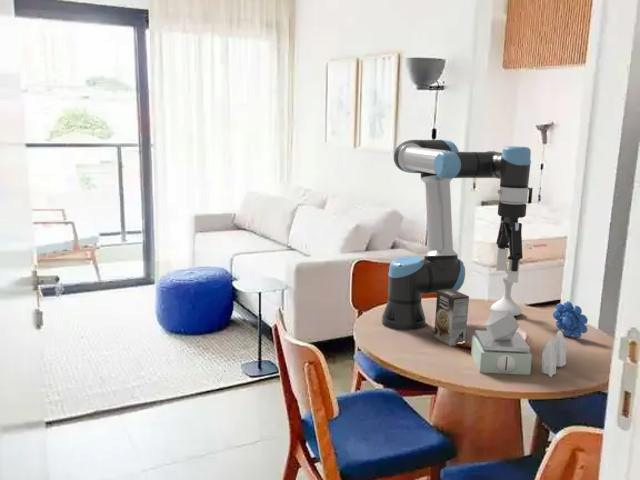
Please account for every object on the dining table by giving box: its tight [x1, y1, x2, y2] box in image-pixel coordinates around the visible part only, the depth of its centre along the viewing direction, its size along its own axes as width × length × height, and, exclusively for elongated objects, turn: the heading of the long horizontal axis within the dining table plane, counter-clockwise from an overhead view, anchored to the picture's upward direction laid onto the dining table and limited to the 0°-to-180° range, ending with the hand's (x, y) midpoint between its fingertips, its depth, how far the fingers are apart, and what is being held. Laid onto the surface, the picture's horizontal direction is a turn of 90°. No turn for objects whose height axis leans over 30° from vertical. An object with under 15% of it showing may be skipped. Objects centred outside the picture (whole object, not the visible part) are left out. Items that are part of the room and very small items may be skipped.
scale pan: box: [474, 329, 531, 353], centre depth 173 cm, size 13×13×1 cm
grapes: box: [552, 300, 588, 339], centre depth 197 cm, size 12×7×12 cm, turn 45°
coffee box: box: [433, 289, 470, 347], centre depth 192 cm, size 9×6×16 cm
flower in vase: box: [489, 249, 523, 317], centre depth 218 cm, size 13×11×25 cm
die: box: [484, 311, 520, 340], centre depth 173 cm, size 8×9×10 cm
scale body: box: [470, 334, 533, 376], centre depth 174 cm, size 15×14×7 cm
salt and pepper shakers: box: [541, 330, 567, 378], centre depth 171 cm, size 12×4×11 cm, turn 136°
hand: (506, 276), depth 170 cm, fingers open, 13 cm apart
